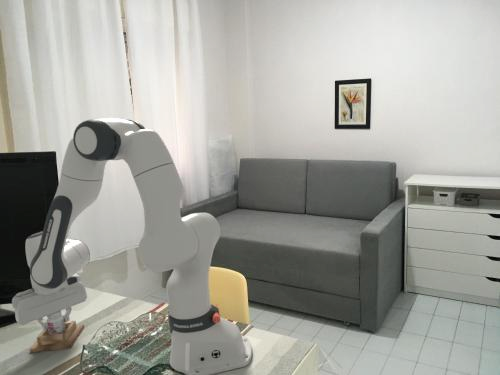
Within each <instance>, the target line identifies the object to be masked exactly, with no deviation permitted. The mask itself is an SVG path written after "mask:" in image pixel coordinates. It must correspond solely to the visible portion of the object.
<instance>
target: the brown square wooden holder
mask: <svg viewBox="0 0 500 375" xmlns="http://www.w3.org/2000/svg"><path fill="white" fill-rule="evenodd" d="M64 323H65V328H66V330H65V332H64V333H62V334H52V335H49V331H48V329H47V330H45V331H44V330H43V329H42V330H41V332H40V333H39V334H38V335H37V337H36V339H37V340H36V341H35V342H34V343H33V344H32V346H31V347H30V348H29V353H36V352H44V351H45V352H47V351H54V350H63V349H71V348H72V347H73V346H74V344H75V343H76V341H77V340H78V338H79V336H80V335H81V334H82V332H83V330H84V329H85V324H77V322H76V320H70V321H67V322H64Z"/></svg>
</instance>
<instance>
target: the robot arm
mask: <svg viewBox="0 0 500 375" xmlns="http://www.w3.org/2000/svg"><path fill="white" fill-rule="evenodd" d="M120 160H122V161H124V162H125V163H126V164H127V166H128V168H129V170H130V173H131V175H132V178H133V180H134V183H135V186H136V188H137V191H138V194H139V195H140V196H139V197H140V199H141V202H142V205H143V211H144V229H143V234H142V237H141V239H140V241H139V243H138V246H137V248H138V250H137V251H138V257H139V259H140V262H141V263H142V265H143V266H144V267H145V268H146V269H147V270H149V271H150V272H153V273H155V274H156V273H163V272H167V271H171V270H172V272H171V275H170V276H169V277H168V280H167V282H166V287H165V288H166V297H167V303H168V304H167V305H168V310H169V311H168V313H167V322H168V323H167V324H168V328H169V333H170V335H171V344H170V345H171V346H170V347H171V349H170V356H169V365H170V367H171V368H172V369H174V370H175V371H178V372H179V373H181V374H182V373H183V374H184V375H214V374H215V375H216V374H218V373H223V372H226V371H231V370H232V371H233V370H236V369H239V368H244V367H247V366H248V365H249V363H250V362H251V360H252V356H253V350H252V344H251V342H250V340H249V339H248V338H247V337H246V336H245V335H242V333H241V331H240V328H239V327H238V325H237V324H236V323H234V322H233V321H230V320H228V319H226V318H223V317H222V316H221V314H220V308H218V306H219V305H218V304H217V303H216V304H215V305H213V303H211V298H210V297H211V295H210V285H209V283H210V282H209V277H210V269H211V264H212V258H213V253H214V250H215V247H216V245H217V243H218V241H219V239H220V237H221V227H220V223H219V222H218V220H217V219H216V217H215V216H214V215H212V214H211V213H208V212H195V213H190V214H188V215H185V216H181V201H182V199H183V198H184V196H185V187H184V183H183V182H182V179H181V176H180V174H179V172H178V170H177V167H176V164H175V162H174V159H173V157H172V155H171V153H170V151H169V149H168V147H167V145H166V144H165V142H164V140H163V139H162V138H161V135H160V134H159V133H158V132H156V131H155V130H153V129H149V128H146V127H145V126H144V125H142V124H141V123H140V122H138V121H136V120H131V119H123V118H122V119H120V118H114V117H107V118H91V119H87V120H83V121H82V122H80V123H79V124H78V125H77V126H76V127H75V129H74V131H73V136H72V138H71V139H70V141H69V142H68V145H67V148H66V150H65V154H64V157H63V160H62V165H61V170H60V176H59V177H60V178H59V181H58V185H57V188H56V191H55V195H54V197H53V200H52V201H51V203H50V205H49V208H48V211H47V214H46V217H45V218H46V219H45V222H44V227H43V230H42V231H39V232H36V233H33V234H31V235H28V237H27V238H26V240H25V243H24V244H25V256H26V262H27V266H28V267H29V273H30V283H31V286H32V287H31V288H30V289H27V290H24V291H20V292H18V293H16V294H15V295H14V296H13V297H12V299H11V304H12V307H13V309H14V314H15V315H14V316H15V320H16V322H17V323H18V324H19V325H22V326H23V325H25V324H28V323H32V322H34V321H37V323H39V324H40V325H41V329H42V331H43V330H44V331H45V330H47V329H49V327H48V323H47V321H46V322H43V321H44V318H45V317H47V316H48V315H50V314H53V313H56V312H58V311H61V312H62V310H65V312H64V314H62V315H63V317H64V322H68V321H71V319H70V315H71V313H72V307H73V306H77V305H79V304H82V303H84V302H86V301H87V299H88V295H87V291H86V288H85V285H84V283H83V282H82V281H81V275H80V274H78V273H79V271H81V270H83V269H84V268H85V267H87V265H88V264H89V263H90V259H91V254H90V253H91V252H90V249H89V247H88V246H87V245H86V244H85V242H83V241H82V240H79V239H77V238H75V239H71V238H68V236H69V232H70V229H71V226H72V225H73V223H74V221H76V219H77V217H79V215H81V214H82V213H83V212H84V211H85V210H86V209H88V207H90V206H92V204H93V203H94V202H96V201H97V199H98V198H99V195H100V192H101V189H102V185H103V182H104V175H105V169H106V168H105V166H106V164H107V162H108V161H120Z"/></svg>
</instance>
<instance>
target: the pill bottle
mask: <svg viewBox="0 0 500 375" xmlns="http://www.w3.org/2000/svg"><path fill="white" fill-rule="evenodd" d="M63 315H64V314H63V313H62V310H61V311H58V312H56V313H53V314H50V315H48V316H46V317H47V318H46V322H47V323H48V327H49V329H48V331H49V335H52V334H62V333H64V332H65V330H66V328H65V323H64V317H63Z"/></svg>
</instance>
